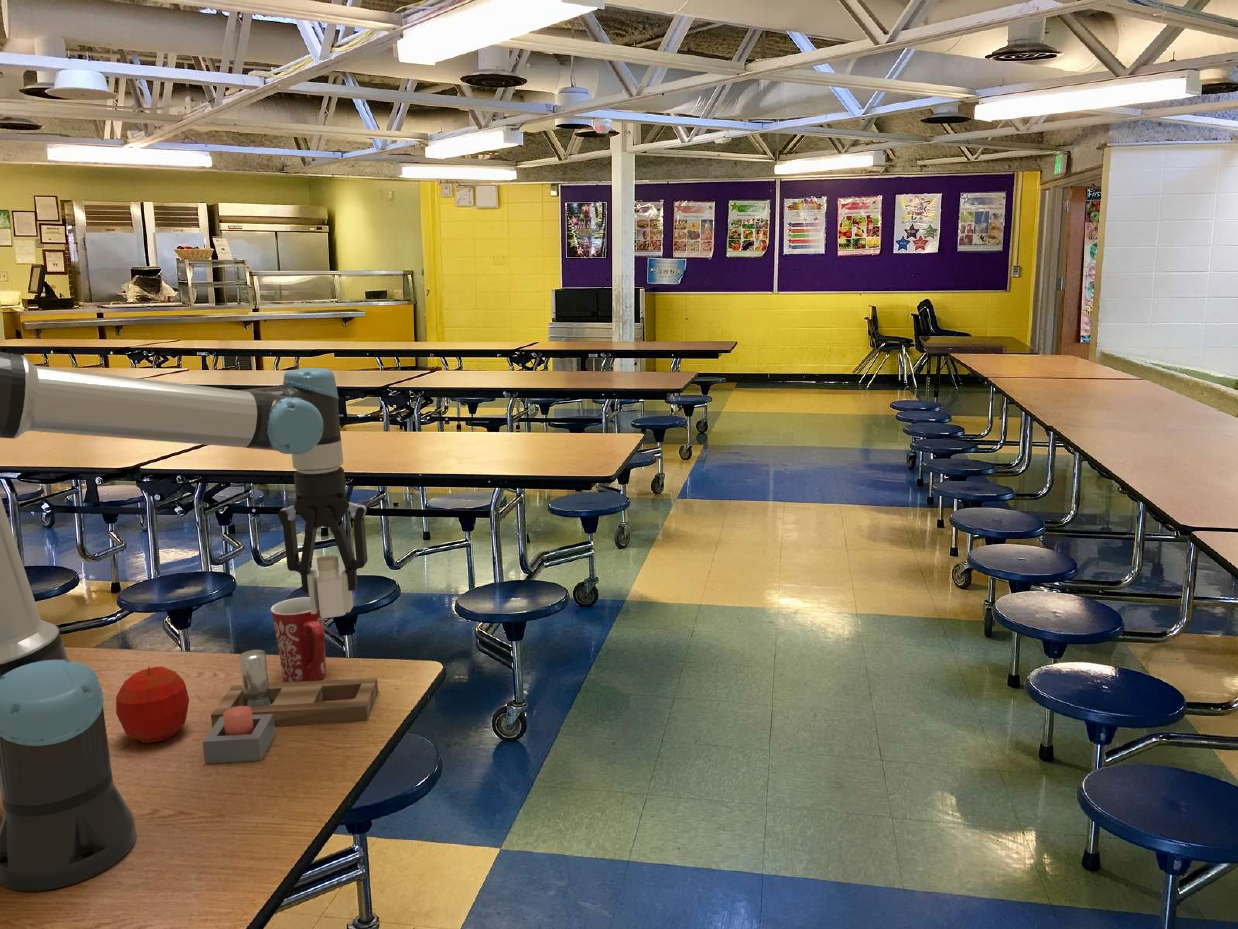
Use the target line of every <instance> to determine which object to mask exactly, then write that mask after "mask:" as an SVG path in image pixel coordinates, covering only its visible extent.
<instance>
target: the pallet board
mask: <svg viewBox="0 0 1238 929" xmlns="http://www.w3.org/2000/svg"><path fill="white" fill-rule="evenodd" d="M268 684H269V694H270V704H271V705H269V706H251V709H252V715H260V714H274V724H275V727H278V726H279V727H281V726H295V725H296V726H298V725H313V724H314V725H315V724H318V725H319V724H330V723H331V724H333V723H335V724H336V723H349V722H353V723H354V722H367V721H368V720H369V716H370V714H371V711H372V709H373V707H374V703H375V701H376V698H377V696H378V693H379V684H378V677H361V678H345V679H344V678H342V679H324V680H322V679H320V680H318V681H302V682H284V681H283V682H268ZM342 699H343V700H344V699H354V700H344V701H328V702H327V701H326V700H342ZM324 700H325V702H324ZM237 706H244V699H243V689H242V684H233V685H231V686H230V688H229V689H228V690H227V692H226V693H225V695H224V696H223V697H222V699H221V700H220V701H219V703H218V704H217V706H216V707H214V709H213V711H212V712H211V714H210V719H211V720H210V721H211V729H212V728H213V726H214V725H215V723H216V722H217V721H218V719H219V718H220V717H223V713H224V712H225V711H226V710H228V709H230V708H233V707H237Z"/></svg>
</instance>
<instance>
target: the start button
mask: <svg viewBox="0 0 1238 929" xmlns="http://www.w3.org/2000/svg"><path fill="white" fill-rule="evenodd" d="M223 719H224V728H225V736H229V735H246V734H252V732H253V731H254V727H253V718H252V709H251V707H248V706H244V705H243V706H237V707H233V708H230V709H228V710H226V711H225V712H224V713H223Z"/></svg>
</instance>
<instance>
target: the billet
mask: <svg viewBox="0 0 1238 929" xmlns="http://www.w3.org/2000/svg"><path fill="white" fill-rule="evenodd" d="M238 659H239V661H238V662H239V668H240V669H239V670H240V676H241V678H240V679H241V685H242V689H243V699H244V704H243V706H248V707H251V706H269V705H272V703H270V694H269V684H268V683H269V676H268V675H269V674H268V665H267V654H266V651H265V650H262V649H252V650H248V651H247V650H246V651H244V652H242V653H241V654H239V656H238Z"/></svg>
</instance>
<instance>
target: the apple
mask: <svg viewBox="0 0 1238 929" xmlns="http://www.w3.org/2000/svg"><path fill="white" fill-rule="evenodd" d="M187 690H188V689H187V686H186V682H185V681H184V679H183V678H182V677H181V676H180V675H179V674H178V673H177V672H176V671H175V670H172V669H169V668H167V667H164V666H154V667H151V666H148V668H144V669H141V670H139V671H136V672H135V673H133V674H131V676H130V677H128V678H127V679H126V680H124V682H123V684H122V685H121V687H120V689H119V690H118V692H117V694H116V696H115V714H116V716H117V718H118V721H119V723H120V725H121V726H122V728H123V731H124V733H125V735H126V736H128V737H131V738H133V739H136V740H138V741H141V742H142V743H147V744H148V743H149V744H150V743H157V742H158V743H159V742H161V741H166V740H168V739H170V738H172V737H173V736H174V735H175V734H176V733H177V732H178V731H179V730H180V729H181V728H182V727H183V726H184V725H185V724H186V720H187V718H188V716H187V715H188V710H189V703H190V698H189V694H188V691H187Z"/></svg>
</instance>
